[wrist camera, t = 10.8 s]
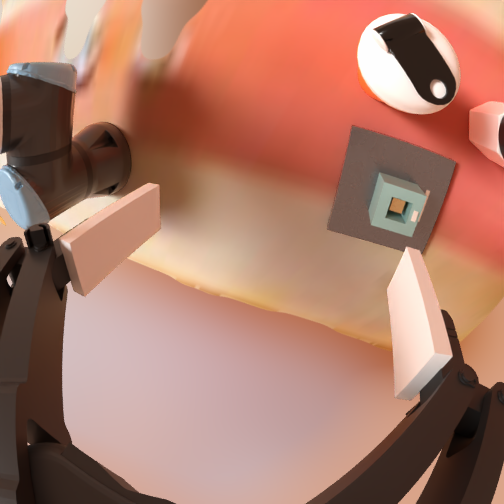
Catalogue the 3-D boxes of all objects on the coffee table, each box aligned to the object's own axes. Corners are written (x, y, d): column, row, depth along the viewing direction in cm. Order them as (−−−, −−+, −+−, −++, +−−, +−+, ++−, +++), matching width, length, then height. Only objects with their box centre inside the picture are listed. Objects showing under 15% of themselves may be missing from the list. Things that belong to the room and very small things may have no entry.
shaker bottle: (380, 120, 33) (415, 139, 16) (337, 70, 31) (333, 41, 15) (425, 87, 28) (493, 83, 11) (383, 37, 26) (417, -14, 10)
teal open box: (379, 172, 35) (384, 182, 31) (417, 184, 34) (427, 197, 30) (368, 210, 38) (371, 226, 34) (405, 221, 37) (411, 238, 33)
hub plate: (327, 225, 43) (325, 242, 39) (351, 124, 34) (353, 128, 30) (418, 252, 40) (425, 270, 36) (452, 159, 31) (466, 169, 27)
